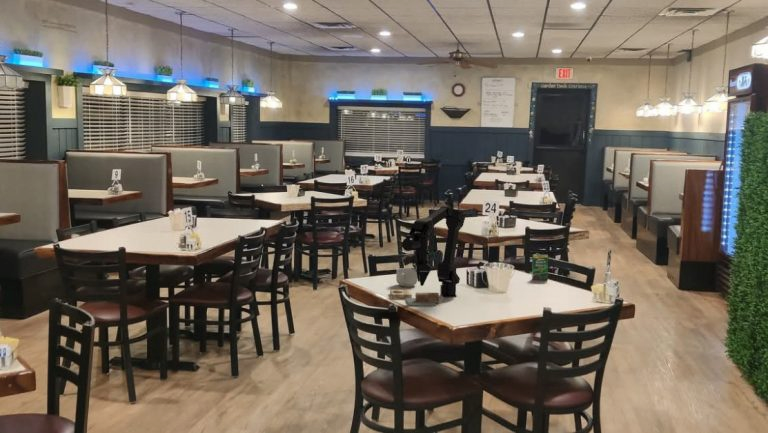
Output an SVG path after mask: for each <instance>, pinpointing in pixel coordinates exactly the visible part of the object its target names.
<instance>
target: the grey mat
mask: <svg viewBox="0 0 768 433" xmlns="http://www.w3.org/2000/svg"><path fill="white" fill-rule="evenodd" d="M415 299H416V297H414V298H413V297H412V298H406V299H405V302H406V304H407V306H408V307H436V306H437V304H436V302H416V300H415Z"/></svg>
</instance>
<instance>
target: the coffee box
mask: <svg viewBox="0 0 768 433" xmlns="http://www.w3.org/2000/svg"><path fill="white" fill-rule="evenodd" d="M531 259H532V261H531V265H532V266H531V267H532V268H531V279H532V280H534V281H548V278H549V255H548V254H532V258H531Z"/></svg>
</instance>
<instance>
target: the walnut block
mask: <svg viewBox="0 0 768 433" xmlns="http://www.w3.org/2000/svg"><path fill="white" fill-rule="evenodd" d="M415 298H416V299H415V300H416V302H435V303H439V302H440V293H439V292H415Z"/></svg>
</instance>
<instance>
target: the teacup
mask: <svg viewBox="0 0 768 433" xmlns="http://www.w3.org/2000/svg"><path fill="white" fill-rule="evenodd" d="M395 278H396V279H395V280H396V283H397V284H398V285H399V286H401V287H403V288H411V287H414V286H415V285H416V284H417V283H418V278H417V273H416V269H415V268H414V269H413V268H403V267H400V268H396V276H395Z"/></svg>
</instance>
